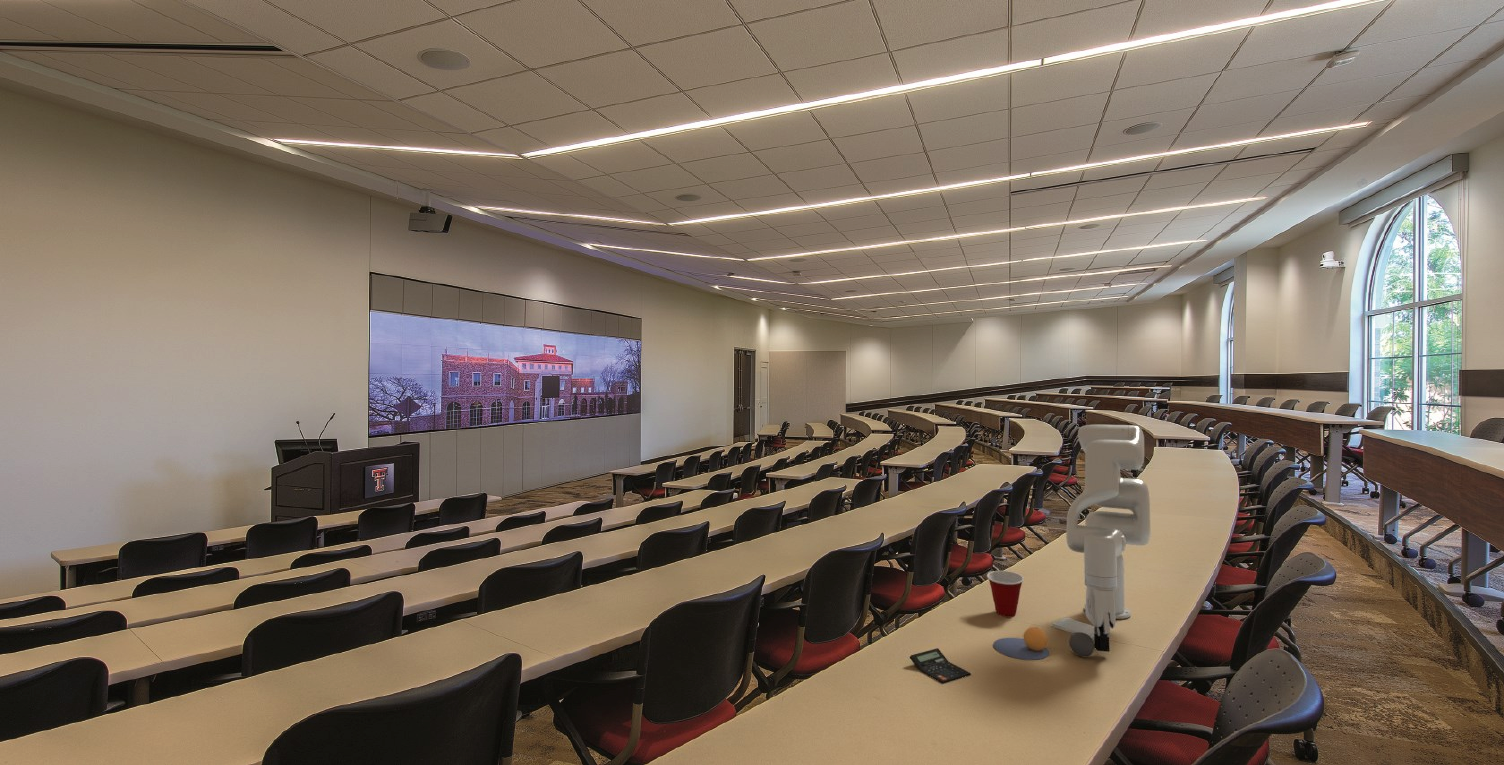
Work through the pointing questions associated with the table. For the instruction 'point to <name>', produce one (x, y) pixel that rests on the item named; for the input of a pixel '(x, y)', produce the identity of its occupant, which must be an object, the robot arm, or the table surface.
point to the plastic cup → (1005, 591)
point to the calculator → (938, 666)
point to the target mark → (1018, 649)
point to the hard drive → (1074, 626)
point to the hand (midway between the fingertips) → (1101, 650)
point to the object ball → (1035, 638)
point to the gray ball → (1081, 644)
